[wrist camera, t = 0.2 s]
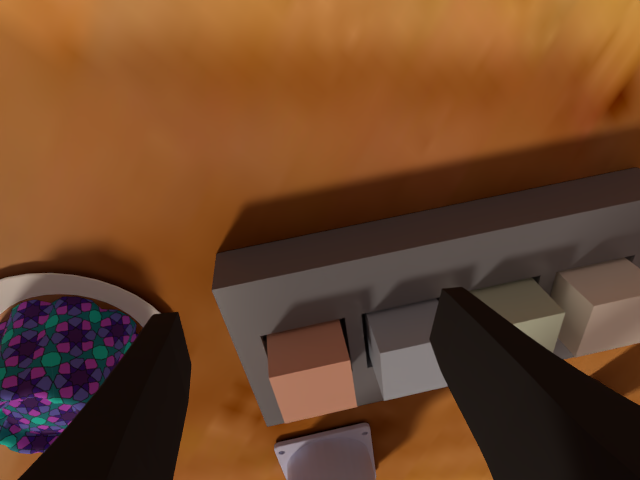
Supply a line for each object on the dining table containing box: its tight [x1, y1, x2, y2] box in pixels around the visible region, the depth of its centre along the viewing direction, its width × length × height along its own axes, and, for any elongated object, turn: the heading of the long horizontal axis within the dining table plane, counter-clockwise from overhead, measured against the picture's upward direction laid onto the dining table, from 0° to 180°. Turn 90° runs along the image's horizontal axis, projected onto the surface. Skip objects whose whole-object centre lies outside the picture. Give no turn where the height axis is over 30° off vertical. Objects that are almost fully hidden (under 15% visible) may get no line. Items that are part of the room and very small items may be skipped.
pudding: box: [0, 273, 161, 454], centre depth 21 cm, size 12×12×5 cm
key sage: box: [469, 277, 566, 353], centre depth 21 cm, size 4×4×3 cm
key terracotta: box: [267, 319, 357, 423], centre depth 21 cm, size 4×4×3 cm
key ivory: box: [550, 257, 640, 357], centre depth 22 cm, size 4×4×3 cm
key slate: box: [365, 298, 448, 401], centre depth 21 cm, size 4×4×3 cm
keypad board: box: [212, 167, 640, 427], centre depth 23 cm, size 12×24×3 cm, turn 98°
